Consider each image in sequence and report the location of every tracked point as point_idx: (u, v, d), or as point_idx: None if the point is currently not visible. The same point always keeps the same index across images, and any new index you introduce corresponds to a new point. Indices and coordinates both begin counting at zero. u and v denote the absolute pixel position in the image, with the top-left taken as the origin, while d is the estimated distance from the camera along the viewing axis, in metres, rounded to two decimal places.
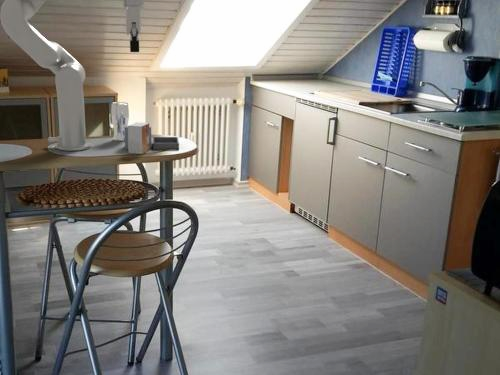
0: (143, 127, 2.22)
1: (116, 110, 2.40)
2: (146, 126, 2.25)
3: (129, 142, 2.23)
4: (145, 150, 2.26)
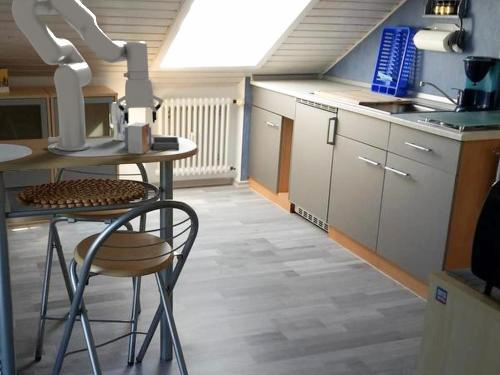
0: (143, 127, 2.22)
1: (116, 110, 2.40)
2: (146, 126, 2.25)
3: (129, 142, 2.23)
4: (145, 150, 2.26)
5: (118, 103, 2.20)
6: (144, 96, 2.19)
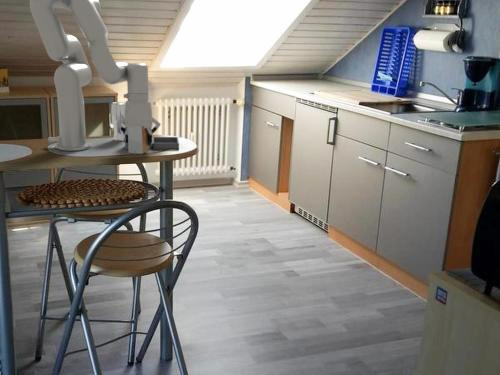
0: (143, 127, 2.22)
1: (116, 110, 2.40)
2: None
3: (129, 142, 2.22)
4: (145, 150, 2.26)
5: (119, 125, 2.23)
6: (143, 117, 2.21)
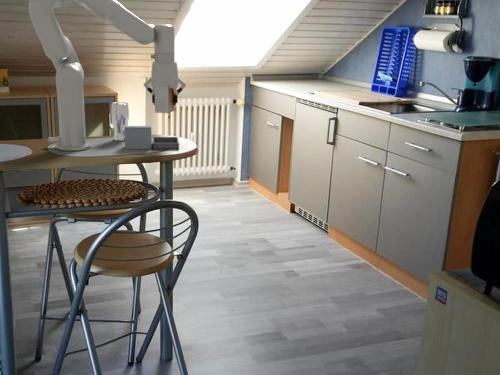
0: (169, 87, 2.28)
1: (116, 110, 2.40)
2: None
3: (156, 102, 2.29)
4: (171, 110, 2.32)
5: (146, 86, 2.29)
6: (169, 77, 2.27)
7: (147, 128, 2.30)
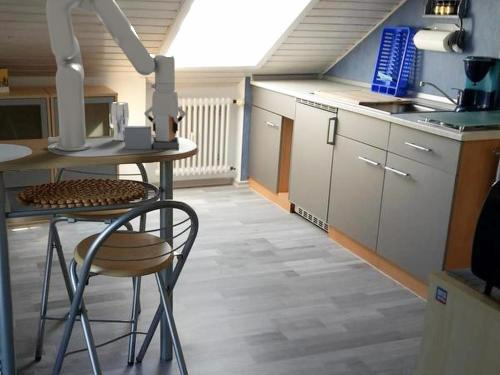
0: None
1: (116, 110, 2.40)
2: None
3: (156, 130, 2.32)
4: (171, 138, 2.35)
5: (147, 114, 2.32)
6: (170, 106, 2.31)
7: (147, 128, 2.30)
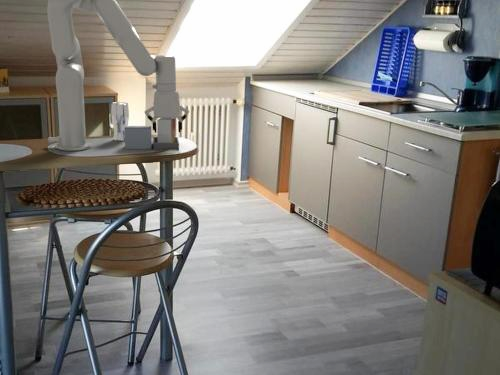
0: (172, 121, 2.32)
1: (116, 110, 2.40)
2: (173, 120, 2.35)
3: (158, 136, 2.32)
4: None
5: (147, 113, 2.32)
6: (171, 107, 2.31)
7: (147, 128, 2.30)
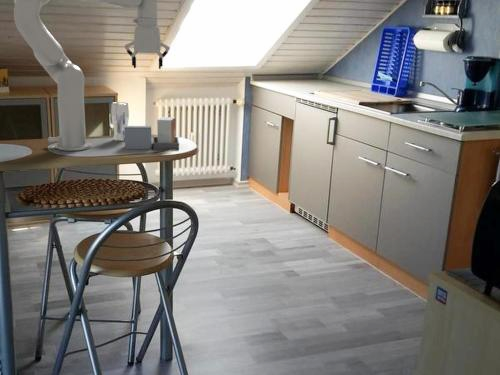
0: (172, 121, 2.32)
1: (116, 110, 2.40)
2: (174, 120, 2.35)
3: (158, 136, 2.32)
4: None
5: (127, 48, 2.31)
6: (152, 42, 2.30)
7: (147, 128, 2.30)
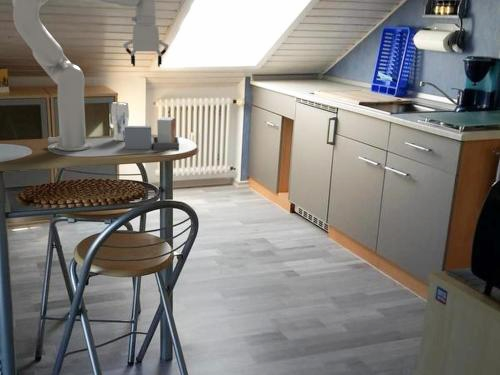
0: (172, 121, 2.32)
1: (116, 110, 2.40)
2: (174, 120, 2.35)
3: (158, 136, 2.32)
4: None
5: (126, 46, 2.32)
6: (151, 40, 2.30)
7: (147, 128, 2.30)
